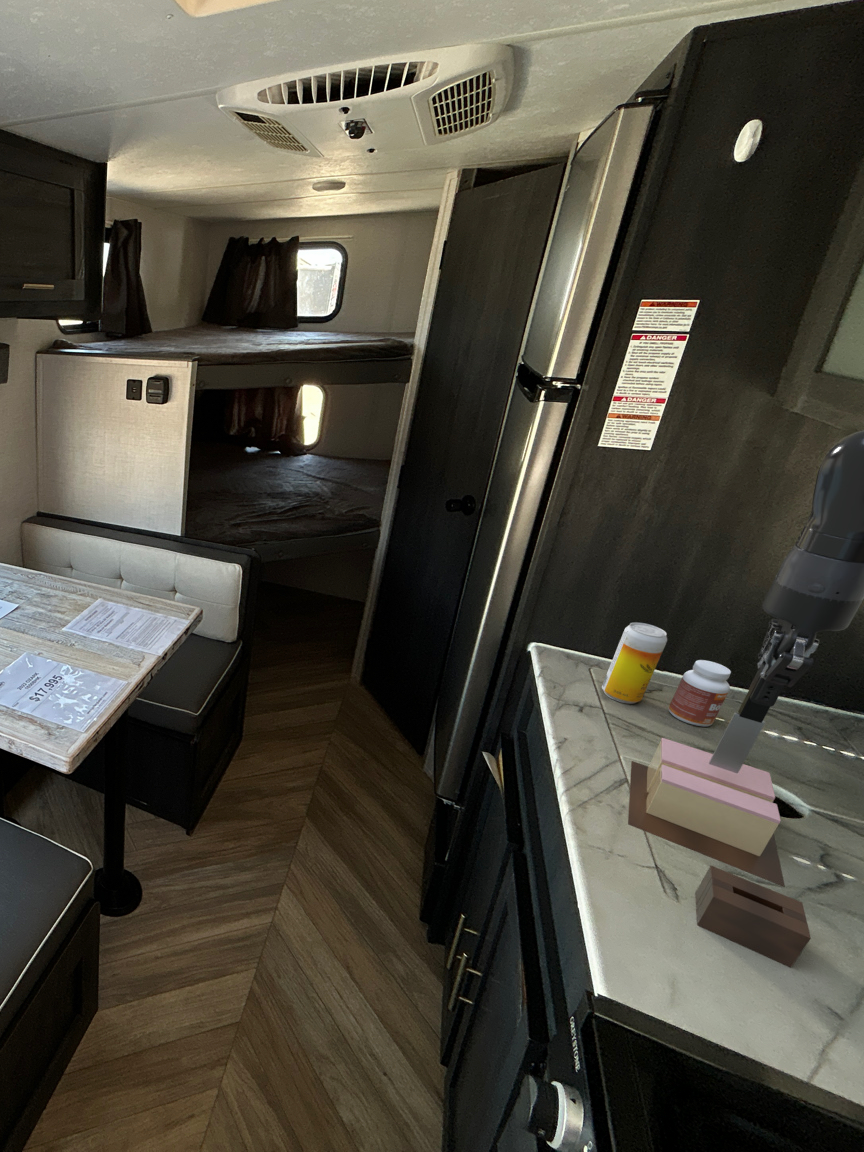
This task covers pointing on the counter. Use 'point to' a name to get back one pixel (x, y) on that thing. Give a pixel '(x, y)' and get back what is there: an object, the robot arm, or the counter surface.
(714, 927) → the knife block
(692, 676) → the pill bottle
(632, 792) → the cake board
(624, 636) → the beer can
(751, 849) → the cake slice
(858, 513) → the robot arm
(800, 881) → the counter surface
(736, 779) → the cake
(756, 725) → the knife
